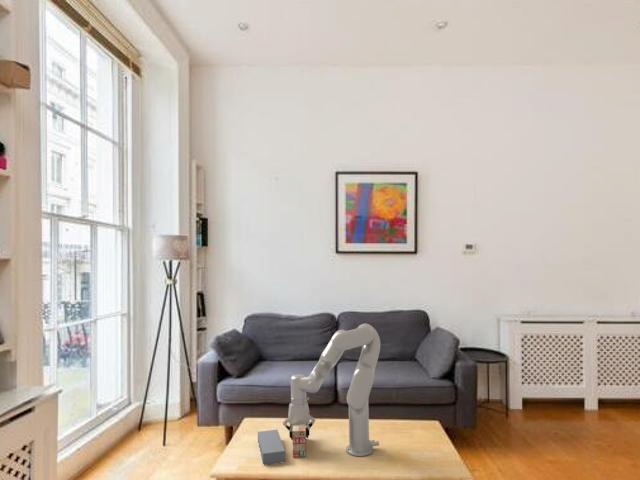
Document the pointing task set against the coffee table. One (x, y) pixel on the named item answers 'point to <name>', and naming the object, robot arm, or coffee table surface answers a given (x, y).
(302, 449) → the stack of blocks
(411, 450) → the coffee table surface
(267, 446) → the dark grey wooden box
